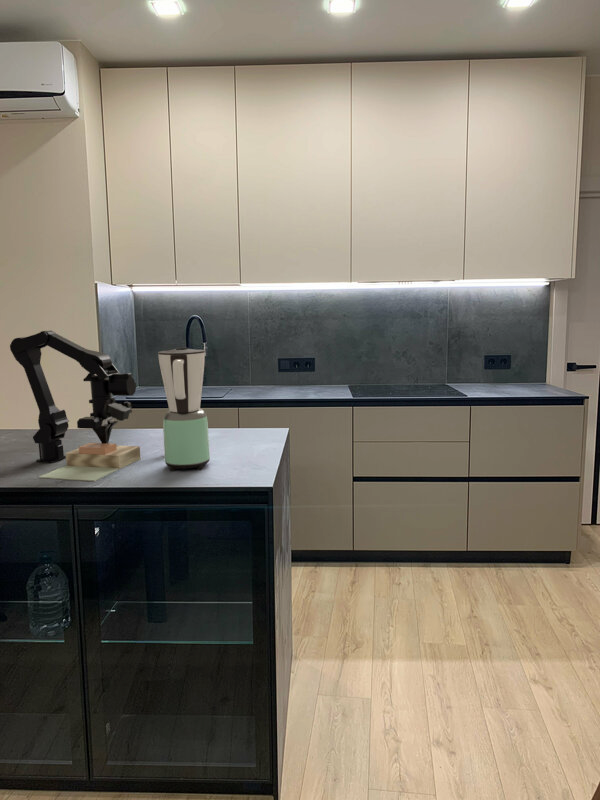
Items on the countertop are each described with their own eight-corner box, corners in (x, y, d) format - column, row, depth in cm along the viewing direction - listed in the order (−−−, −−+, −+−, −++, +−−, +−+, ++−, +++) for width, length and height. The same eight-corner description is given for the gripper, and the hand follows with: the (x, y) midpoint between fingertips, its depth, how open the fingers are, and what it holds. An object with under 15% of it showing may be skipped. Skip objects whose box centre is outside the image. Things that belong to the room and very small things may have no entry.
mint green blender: (168, 460, 186) (161, 346, 180) (211, 457, 187) (206, 345, 181) (160, 477, 167) (152, 351, 162) (208, 474, 168) (202, 349, 163)
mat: (38, 477, 170) (38, 476, 169) (65, 466, 181) (65, 465, 181) (94, 481, 165) (94, 480, 165) (118, 469, 176) (118, 468, 176)
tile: (79, 453, 180) (78, 446, 180) (91, 448, 186) (90, 442, 185) (105, 454, 178) (104, 448, 177) (116, 450, 183) (116, 443, 183)
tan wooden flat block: (66, 466, 181) (65, 453, 181) (90, 456, 193) (89, 444, 192) (119, 469, 177) (118, 455, 176) (140, 458, 188) (139, 446, 187)
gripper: (107, 400, 172) (112, 454, 174) (140, 391, 189) (144, 439, 192) (73, 400, 174) (78, 452, 177) (109, 390, 192) (113, 438, 195)
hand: (105, 445), depth 185 cm, fingers closed
